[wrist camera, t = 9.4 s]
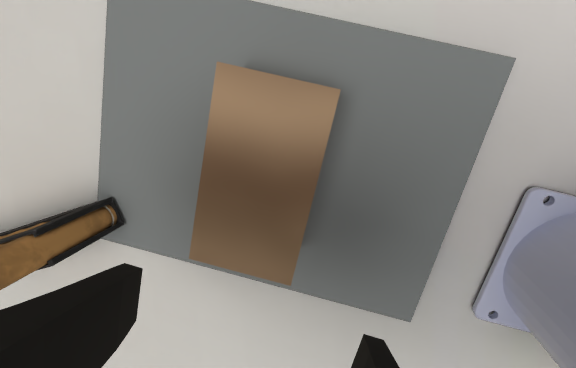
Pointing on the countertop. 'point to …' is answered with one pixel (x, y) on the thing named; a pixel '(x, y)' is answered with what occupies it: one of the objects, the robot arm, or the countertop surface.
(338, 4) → the countertop surface
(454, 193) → the mat
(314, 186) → the card box
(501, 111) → the countertop surface
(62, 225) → the ammunition clip
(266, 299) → the countertop surface
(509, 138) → the countertop surface
